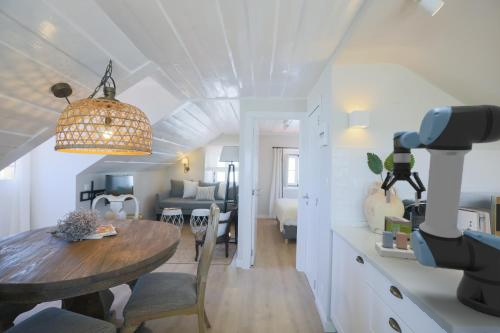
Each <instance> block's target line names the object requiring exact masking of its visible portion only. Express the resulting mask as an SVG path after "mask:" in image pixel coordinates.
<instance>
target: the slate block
mask: <svg viewBox="0 0 500 333" xmlns="http://www.w3.org/2000/svg"><path fill="white" fill-rule="evenodd" d="M381 243H382V244H383V245H384V246H387V247H393V233H392V232H389V231H384V230H382V242H381Z"/></svg>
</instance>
